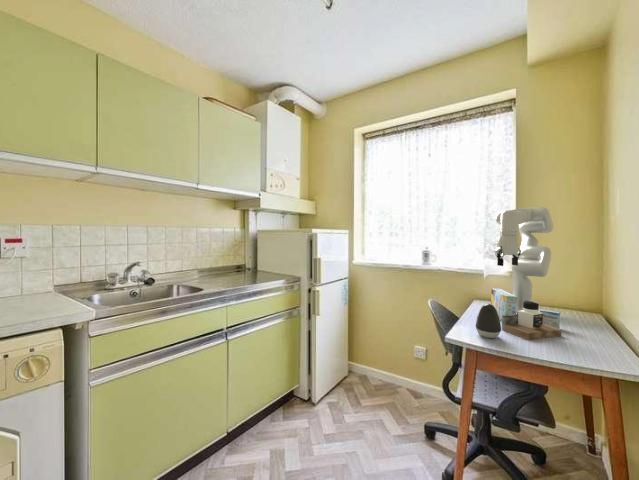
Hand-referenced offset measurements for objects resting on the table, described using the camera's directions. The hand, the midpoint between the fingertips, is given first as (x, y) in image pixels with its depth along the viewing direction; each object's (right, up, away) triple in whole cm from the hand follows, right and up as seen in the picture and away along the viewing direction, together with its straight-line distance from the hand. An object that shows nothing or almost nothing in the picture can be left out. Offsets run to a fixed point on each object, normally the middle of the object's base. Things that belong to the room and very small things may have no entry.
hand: (507, 265), depth 155 cm
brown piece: (+1, -31, -17) cm, 35 cm away
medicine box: (+15, -31, -9) cm, 36 cm away
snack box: (+1, -30, +6) cm, 31 cm away
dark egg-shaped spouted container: (-23, -31, -21) cm, 44 cm away
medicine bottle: (0, -28, -16) cm, 32 cm away
